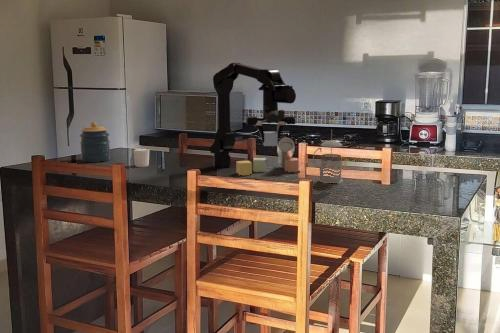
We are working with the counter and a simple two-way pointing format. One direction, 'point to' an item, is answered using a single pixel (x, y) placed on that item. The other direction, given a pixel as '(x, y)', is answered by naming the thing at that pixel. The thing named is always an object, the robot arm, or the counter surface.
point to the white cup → (141, 157)
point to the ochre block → (244, 167)
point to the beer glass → (285, 150)
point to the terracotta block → (291, 165)
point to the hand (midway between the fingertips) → (270, 142)
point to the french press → (330, 162)
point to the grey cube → (270, 138)
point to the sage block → (259, 165)
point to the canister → (94, 144)
